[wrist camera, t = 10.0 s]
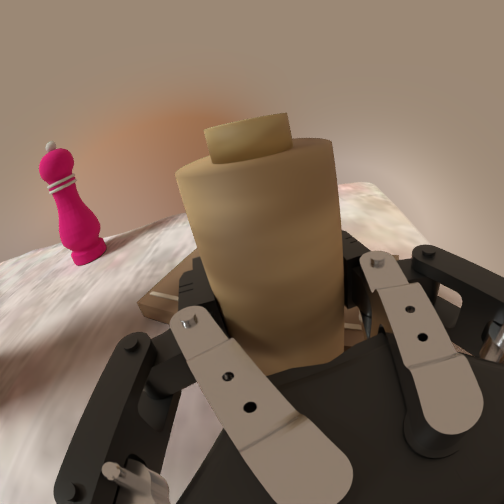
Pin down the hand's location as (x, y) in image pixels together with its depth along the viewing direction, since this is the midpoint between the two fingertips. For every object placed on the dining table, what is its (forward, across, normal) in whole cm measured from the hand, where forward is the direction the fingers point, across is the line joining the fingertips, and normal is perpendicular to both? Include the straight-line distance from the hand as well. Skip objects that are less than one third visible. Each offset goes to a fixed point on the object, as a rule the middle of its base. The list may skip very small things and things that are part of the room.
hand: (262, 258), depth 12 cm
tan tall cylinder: (-3, 0, +7) cm, 7 cm away
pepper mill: (+30, +24, +8) cm, 39 cm away
